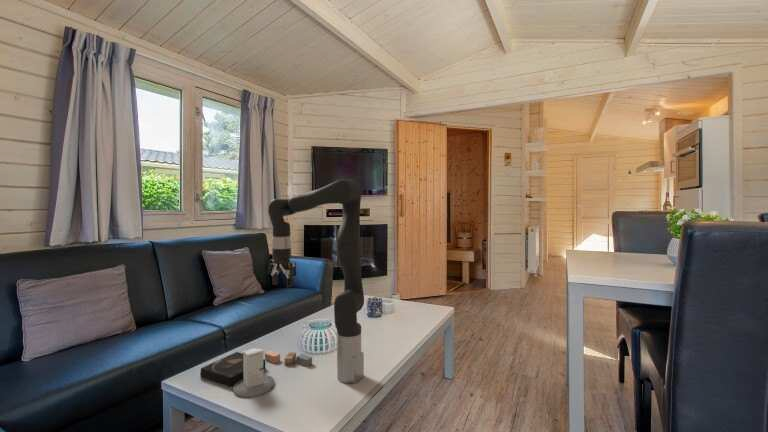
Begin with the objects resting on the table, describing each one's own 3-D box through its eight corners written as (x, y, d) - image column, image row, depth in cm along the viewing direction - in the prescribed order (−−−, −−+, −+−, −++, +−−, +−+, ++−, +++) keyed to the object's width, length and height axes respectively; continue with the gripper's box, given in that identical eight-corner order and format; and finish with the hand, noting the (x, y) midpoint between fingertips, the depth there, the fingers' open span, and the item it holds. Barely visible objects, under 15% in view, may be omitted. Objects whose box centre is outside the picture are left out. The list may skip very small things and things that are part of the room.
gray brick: (312, 364, 145) (312, 357, 145) (306, 367, 142) (306, 360, 142) (302, 360, 148) (302, 353, 148) (296, 363, 146) (296, 356, 145)
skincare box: (247, 389, 123) (246, 355, 123) (243, 384, 127) (242, 351, 126) (264, 383, 127) (263, 350, 127) (259, 378, 131) (259, 346, 130)
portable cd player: (235, 360, 149) (235, 351, 149) (265, 369, 141) (265, 359, 141) (200, 378, 134) (200, 367, 134) (230, 388, 126) (230, 377, 126)
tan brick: (291, 365, 144) (291, 358, 143) (284, 365, 144) (284, 358, 144) (296, 359, 150) (296, 352, 149) (289, 359, 150) (289, 352, 150)
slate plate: (282, 383, 129) (282, 380, 129) (249, 401, 117) (249, 398, 117) (257, 373, 136) (257, 371, 136) (224, 389, 125) (224, 387, 125)
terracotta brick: (280, 360, 148) (279, 354, 148) (274, 363, 145) (274, 356, 145) (270, 357, 151) (270, 350, 151) (264, 360, 149) (264, 353, 149)
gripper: (300, 247, 145) (301, 286, 145) (277, 245, 152) (277, 282, 153) (286, 249, 138) (287, 289, 139) (262, 246, 146) (263, 285, 146)
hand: (282, 285), depth 146 cm, fingers open, 8 cm apart
